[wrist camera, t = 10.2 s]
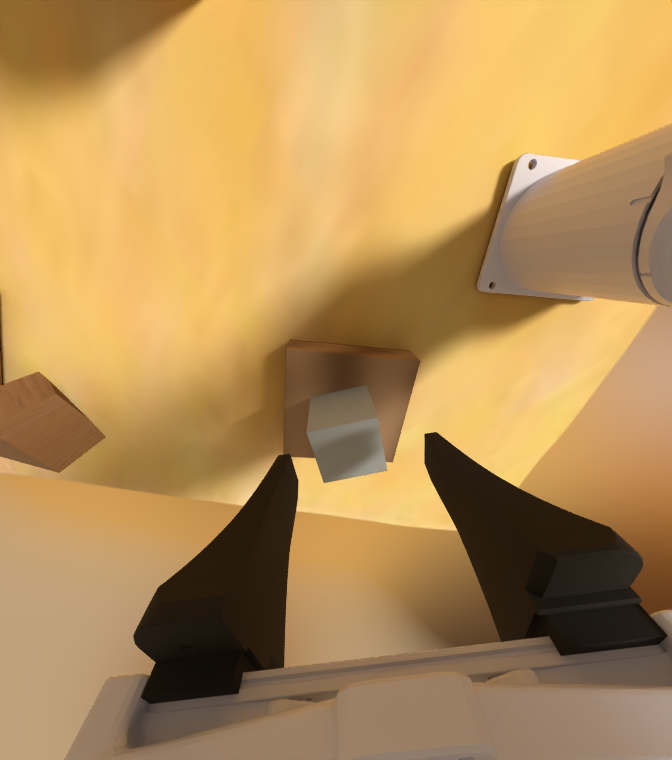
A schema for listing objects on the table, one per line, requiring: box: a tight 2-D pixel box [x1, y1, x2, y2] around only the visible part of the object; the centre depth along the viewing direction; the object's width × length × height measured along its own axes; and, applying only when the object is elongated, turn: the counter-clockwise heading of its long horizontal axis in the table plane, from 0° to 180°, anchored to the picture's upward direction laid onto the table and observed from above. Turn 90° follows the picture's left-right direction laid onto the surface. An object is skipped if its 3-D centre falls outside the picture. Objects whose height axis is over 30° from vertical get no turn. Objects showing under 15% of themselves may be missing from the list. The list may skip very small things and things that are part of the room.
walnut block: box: [284, 340, 420, 462], centre depth 21 cm, size 10×10×3 cm
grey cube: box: [307, 385, 387, 483], centre depth 18 cm, size 4×4×4 cm
